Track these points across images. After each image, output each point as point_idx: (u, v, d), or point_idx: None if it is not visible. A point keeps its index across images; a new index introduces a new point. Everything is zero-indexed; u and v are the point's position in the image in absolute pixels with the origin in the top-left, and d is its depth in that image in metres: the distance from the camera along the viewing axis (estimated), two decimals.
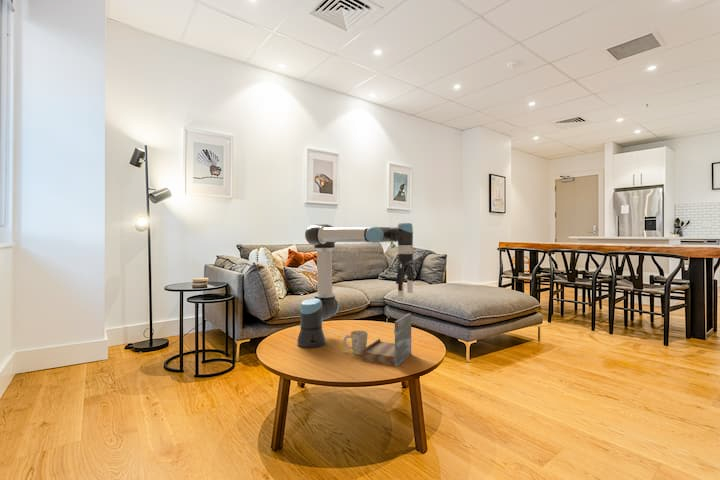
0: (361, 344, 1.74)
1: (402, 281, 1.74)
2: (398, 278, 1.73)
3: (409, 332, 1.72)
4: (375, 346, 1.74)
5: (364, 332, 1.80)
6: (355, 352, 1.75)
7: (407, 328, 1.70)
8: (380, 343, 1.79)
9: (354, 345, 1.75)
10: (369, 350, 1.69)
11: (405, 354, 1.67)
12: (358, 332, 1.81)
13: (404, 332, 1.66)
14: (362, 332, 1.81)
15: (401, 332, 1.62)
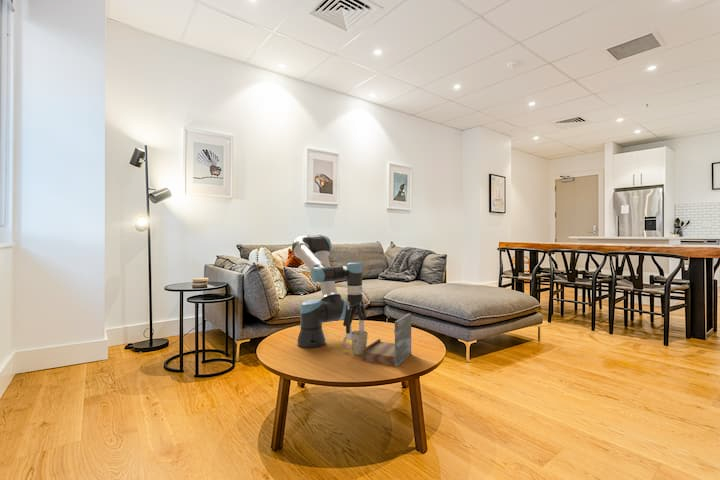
0: (361, 344, 1.74)
1: (350, 323, 1.70)
2: (345, 321, 1.69)
3: (409, 332, 1.72)
4: (375, 346, 1.74)
5: (364, 332, 1.80)
6: (355, 352, 1.75)
7: (407, 328, 1.70)
8: (380, 343, 1.79)
9: (354, 345, 1.75)
10: (369, 350, 1.69)
11: (405, 354, 1.67)
12: (358, 332, 1.81)
13: (404, 332, 1.66)
14: (362, 332, 1.81)
15: (401, 332, 1.62)
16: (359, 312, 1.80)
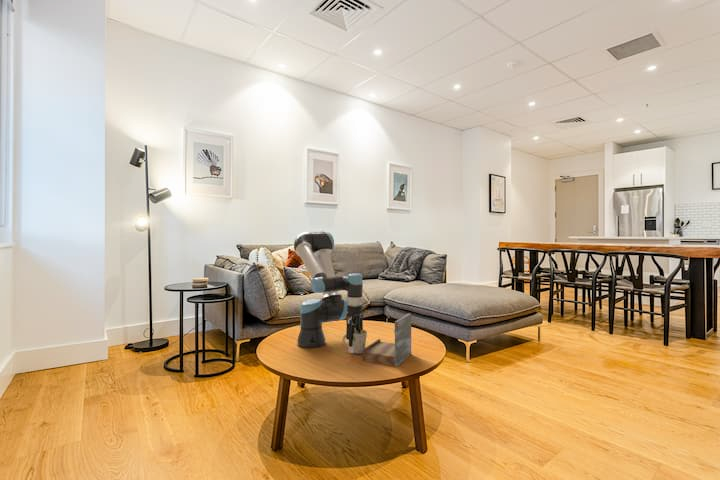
0: (360, 343, 1.74)
1: (352, 337, 1.73)
2: (348, 335, 1.72)
3: (409, 332, 1.72)
4: (375, 346, 1.74)
5: (363, 331, 1.80)
6: (354, 351, 1.75)
7: (407, 328, 1.70)
8: (380, 343, 1.79)
9: None
10: (369, 350, 1.69)
11: (405, 354, 1.67)
12: None
13: (404, 332, 1.66)
14: (361, 331, 1.81)
15: (401, 332, 1.62)
16: (357, 325, 1.79)
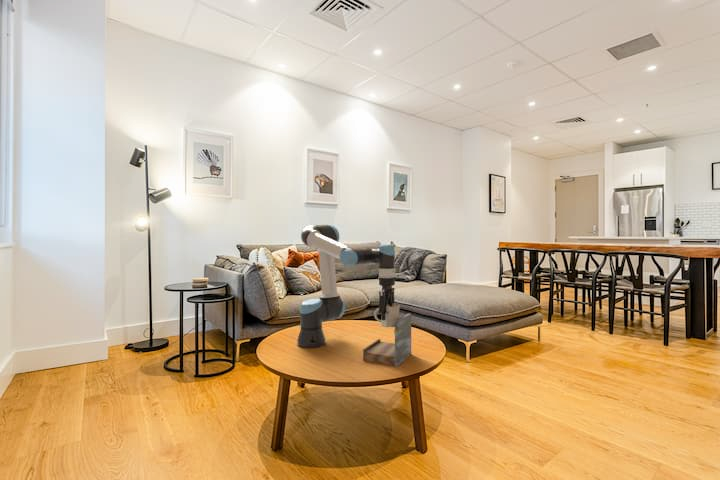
0: (393, 316, 1.66)
1: (385, 310, 1.66)
2: (381, 307, 1.65)
3: (409, 332, 1.72)
4: (375, 346, 1.74)
5: (395, 305, 1.72)
6: (387, 325, 1.67)
7: (407, 328, 1.70)
8: (380, 343, 1.79)
9: None
10: (369, 350, 1.69)
11: (405, 354, 1.67)
12: None
13: (404, 332, 1.66)
14: (393, 305, 1.73)
15: (401, 332, 1.62)
16: (389, 298, 1.72)
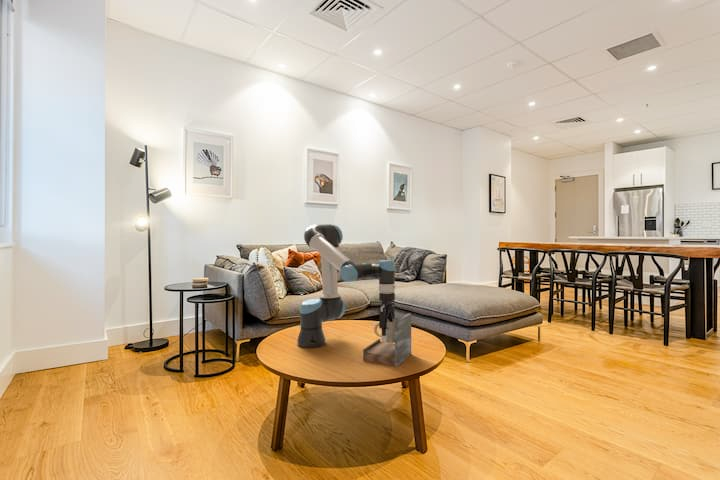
0: (393, 332, 1.66)
1: (385, 326, 1.66)
2: (381, 323, 1.65)
3: (409, 332, 1.72)
4: (375, 346, 1.74)
5: (396, 320, 1.73)
6: None
7: (407, 328, 1.70)
8: (380, 343, 1.79)
9: None
10: (369, 350, 1.69)
11: (405, 354, 1.67)
12: None
13: (404, 332, 1.66)
14: (393, 320, 1.73)
15: (401, 332, 1.62)
16: (389, 313, 1.72)
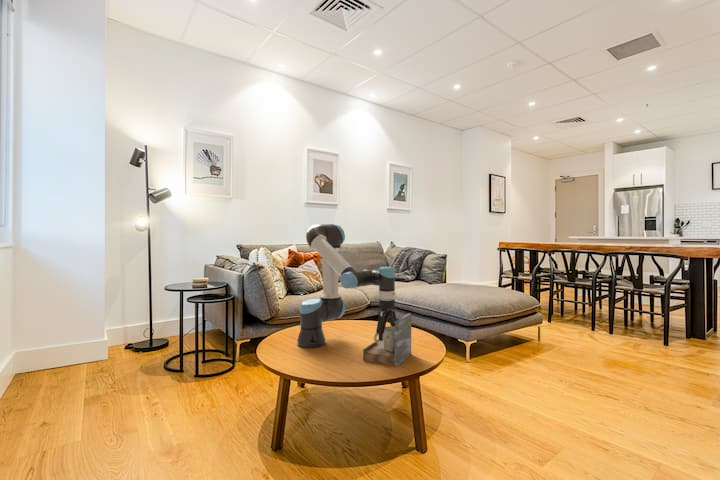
0: (393, 340, 1.66)
1: (383, 331, 1.63)
2: (378, 328, 1.62)
3: (409, 332, 1.72)
4: (375, 346, 1.74)
5: None
6: (387, 349, 1.68)
7: (407, 328, 1.70)
8: None
9: (386, 341, 1.67)
10: (369, 350, 1.69)
11: (405, 354, 1.67)
12: (389, 328, 1.74)
13: (404, 332, 1.66)
14: (393, 328, 1.73)
15: (401, 332, 1.62)
16: (391, 318, 1.74)
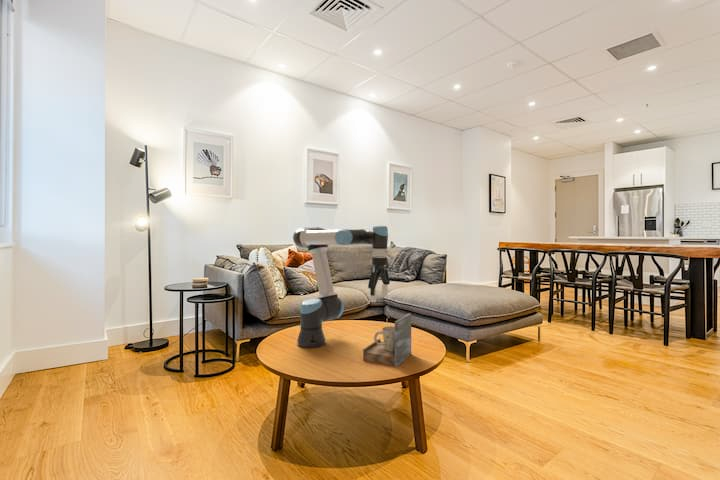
0: (393, 340, 1.66)
1: (374, 286, 1.69)
2: (370, 282, 1.69)
3: (409, 332, 1.72)
4: (375, 346, 1.74)
5: None
6: (387, 349, 1.68)
7: (407, 328, 1.70)
8: None
9: (386, 341, 1.67)
10: (369, 350, 1.69)
11: (405, 354, 1.67)
12: (389, 328, 1.73)
13: (404, 332, 1.66)
14: (393, 328, 1.73)
15: (401, 332, 1.62)
16: (383, 276, 1.79)
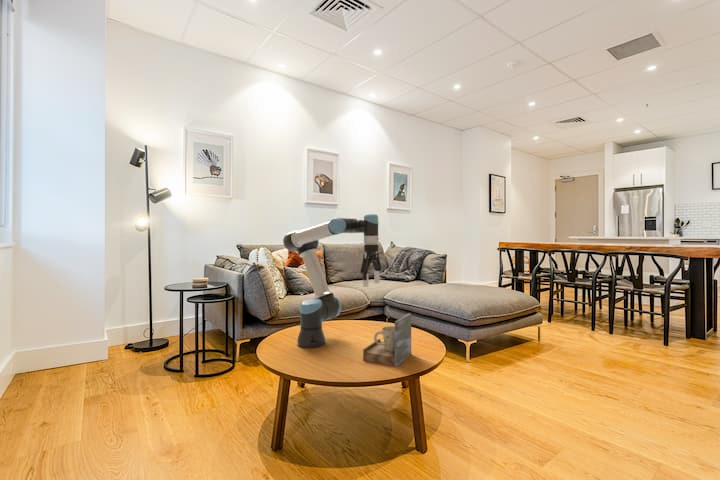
0: (393, 340, 1.66)
1: (367, 271, 1.78)
2: (362, 268, 1.77)
3: (409, 332, 1.72)
4: (375, 346, 1.74)
5: None
6: (387, 349, 1.68)
7: (407, 328, 1.70)
8: None
9: (386, 341, 1.67)
10: (369, 350, 1.69)
11: (405, 354, 1.67)
12: (389, 328, 1.73)
13: (404, 332, 1.66)
14: (393, 328, 1.73)
15: (401, 332, 1.62)
16: (375, 262, 1.88)
